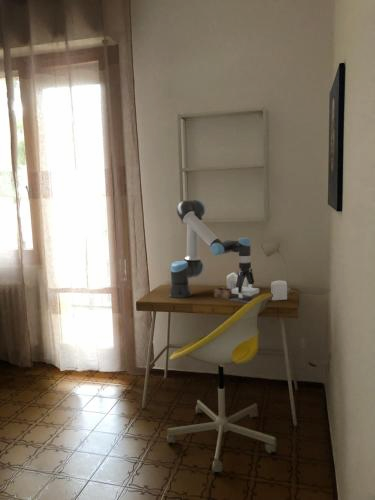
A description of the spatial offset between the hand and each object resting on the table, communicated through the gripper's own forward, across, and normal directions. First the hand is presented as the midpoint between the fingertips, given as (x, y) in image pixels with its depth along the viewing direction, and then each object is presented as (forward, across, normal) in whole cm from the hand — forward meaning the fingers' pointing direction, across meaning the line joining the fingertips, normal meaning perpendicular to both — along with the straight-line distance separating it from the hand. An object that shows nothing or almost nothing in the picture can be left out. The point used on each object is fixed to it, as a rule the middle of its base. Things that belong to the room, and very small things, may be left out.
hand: (245, 295), depth 265 cm
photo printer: (+3, +11, -18) cm, 21 cm away
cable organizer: (+3, +21, +20) cm, 29 cm away
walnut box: (+3, 0, +16) cm, 16 cm away
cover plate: (-2, 0, 0) cm, 2 cm away
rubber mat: (+3, 0, 0) cm, 3 cm away
